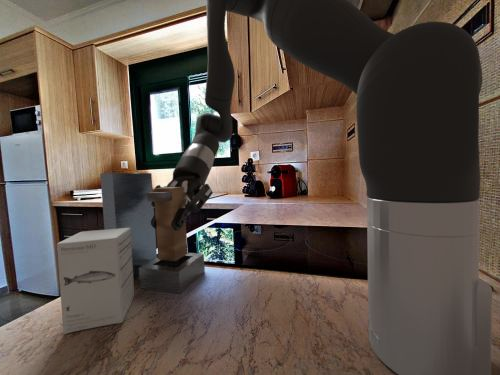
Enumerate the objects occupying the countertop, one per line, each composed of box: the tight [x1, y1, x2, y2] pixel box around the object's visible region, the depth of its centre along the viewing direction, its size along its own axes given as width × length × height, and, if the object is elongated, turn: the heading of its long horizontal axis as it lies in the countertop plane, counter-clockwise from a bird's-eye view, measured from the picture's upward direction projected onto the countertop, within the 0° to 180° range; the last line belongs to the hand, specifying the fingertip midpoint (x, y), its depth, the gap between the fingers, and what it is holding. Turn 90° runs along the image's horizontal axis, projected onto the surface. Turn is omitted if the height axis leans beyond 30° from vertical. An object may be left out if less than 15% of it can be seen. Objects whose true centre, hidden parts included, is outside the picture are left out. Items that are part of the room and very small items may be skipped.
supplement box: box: [56, 228, 135, 335], centre depth 33 cm, size 7×7×13 cm
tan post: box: [147, 186, 189, 261], centre depth 42 cm, size 4×6×14 cm
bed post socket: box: [99, 172, 206, 295], centre depth 44 cm, size 16×10×22 cm, turn 73°
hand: (164, 227), depth 41 cm, fingers closed on tan post, 4 cm apart
